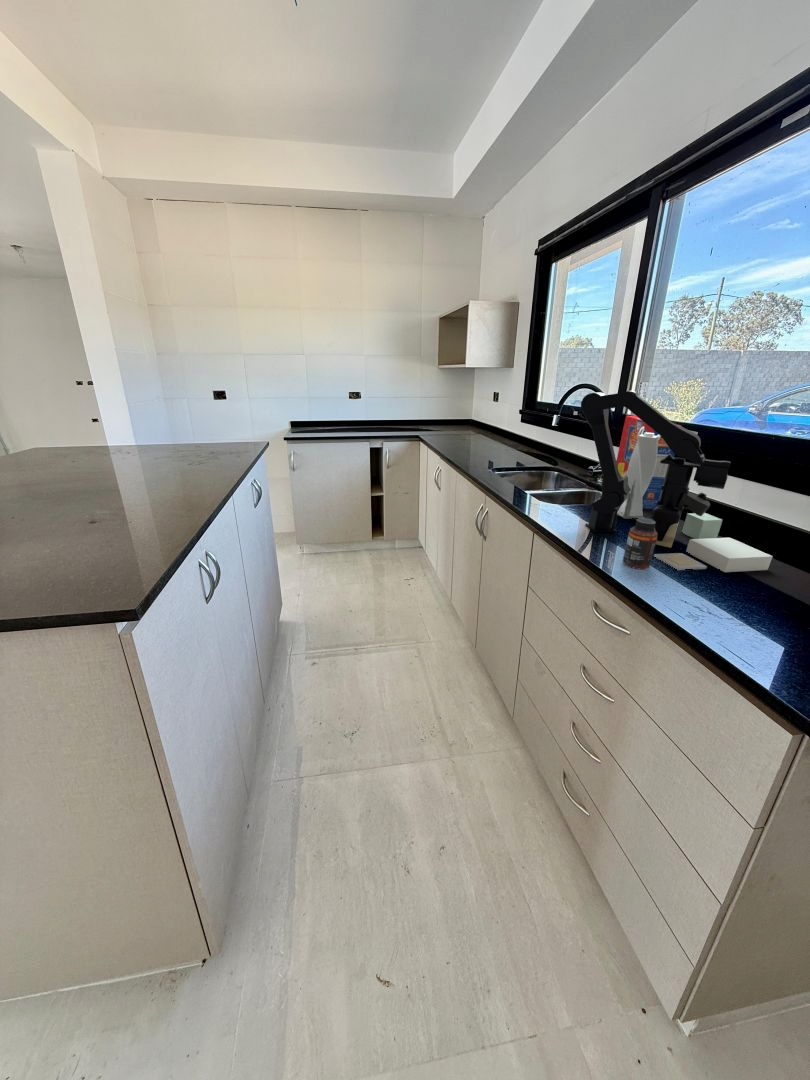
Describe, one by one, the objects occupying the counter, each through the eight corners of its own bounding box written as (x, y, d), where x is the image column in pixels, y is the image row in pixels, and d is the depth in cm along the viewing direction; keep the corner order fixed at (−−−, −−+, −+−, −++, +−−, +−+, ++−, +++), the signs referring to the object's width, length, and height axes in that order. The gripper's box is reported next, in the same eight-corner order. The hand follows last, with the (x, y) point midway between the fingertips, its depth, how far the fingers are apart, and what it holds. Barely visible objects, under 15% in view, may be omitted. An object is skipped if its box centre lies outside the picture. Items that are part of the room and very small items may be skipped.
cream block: (724, 573, 102) (729, 558, 100) (685, 553, 112) (689, 539, 111) (766, 571, 103) (772, 556, 102) (724, 551, 114) (729, 537, 113)
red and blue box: (610, 487, 173) (626, 415, 162) (631, 488, 172) (648, 416, 161) (635, 508, 147) (655, 424, 136) (660, 510, 146) (682, 426, 135)
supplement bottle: (647, 561, 106) (658, 518, 101) (651, 571, 100) (663, 526, 96) (620, 557, 107) (631, 515, 103) (623, 567, 102) (634, 522, 98)
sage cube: (697, 540, 120) (703, 520, 118) (681, 532, 126) (687, 513, 124) (716, 539, 121) (722, 519, 119) (699, 532, 127) (705, 512, 125)
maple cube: (671, 547, 114) (677, 526, 112) (646, 542, 118) (651, 521, 115) (673, 541, 119) (679, 520, 117) (649, 536, 122) (654, 516, 120)
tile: (676, 570, 101) (677, 567, 101) (653, 556, 109) (654, 553, 108) (706, 568, 103) (707, 565, 102) (681, 555, 110) (682, 552, 110)
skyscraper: (610, 511, 144) (629, 425, 133) (632, 511, 145) (653, 426, 134) (624, 519, 136) (646, 429, 126) (648, 519, 137) (671, 430, 127)
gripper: (711, 495, 101) (692, 556, 107) (714, 480, 115) (697, 534, 121) (658, 487, 107) (643, 544, 112) (667, 474, 121) (653, 526, 127)
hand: (661, 537), depth 118 cm, fingers closed on maple cube, 6 cm apart
